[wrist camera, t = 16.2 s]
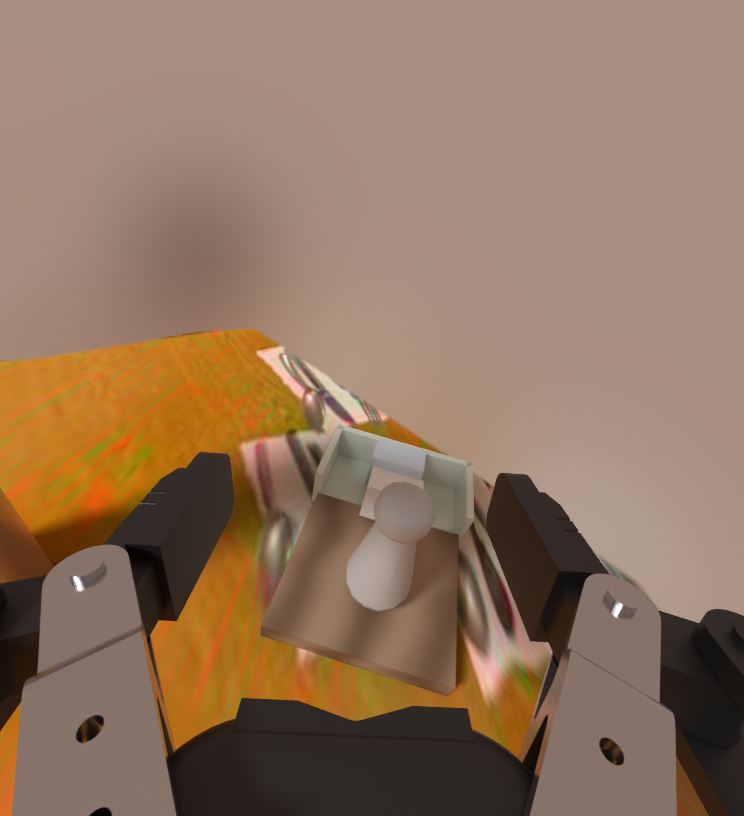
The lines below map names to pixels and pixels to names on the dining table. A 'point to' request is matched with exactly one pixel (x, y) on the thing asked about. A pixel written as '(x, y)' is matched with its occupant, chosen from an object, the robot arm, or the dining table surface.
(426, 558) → the board
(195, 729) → the dining table surface
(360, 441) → the tray
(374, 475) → the beige block
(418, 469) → the pale grey block
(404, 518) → the salt shaker
